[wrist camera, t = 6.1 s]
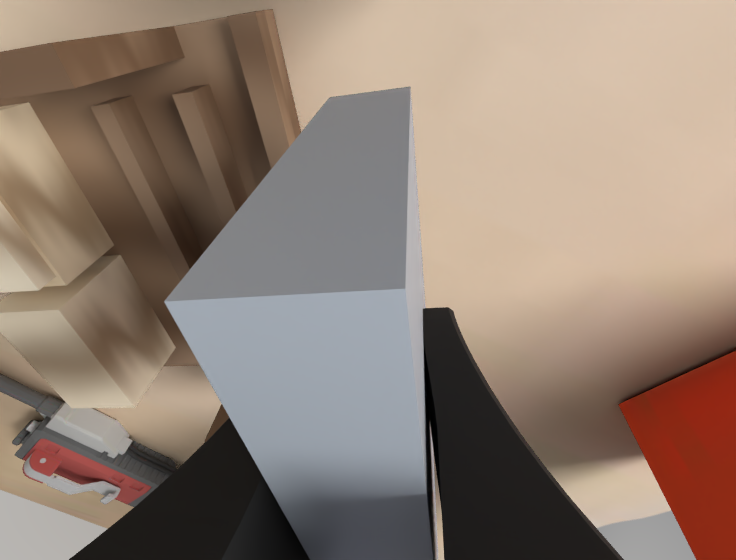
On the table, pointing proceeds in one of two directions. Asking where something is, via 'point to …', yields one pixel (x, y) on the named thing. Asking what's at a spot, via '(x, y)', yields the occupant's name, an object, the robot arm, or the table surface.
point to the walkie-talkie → (84, 450)
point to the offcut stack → (68, 279)
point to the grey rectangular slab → (328, 333)
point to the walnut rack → (163, 136)
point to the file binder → (694, 452)
